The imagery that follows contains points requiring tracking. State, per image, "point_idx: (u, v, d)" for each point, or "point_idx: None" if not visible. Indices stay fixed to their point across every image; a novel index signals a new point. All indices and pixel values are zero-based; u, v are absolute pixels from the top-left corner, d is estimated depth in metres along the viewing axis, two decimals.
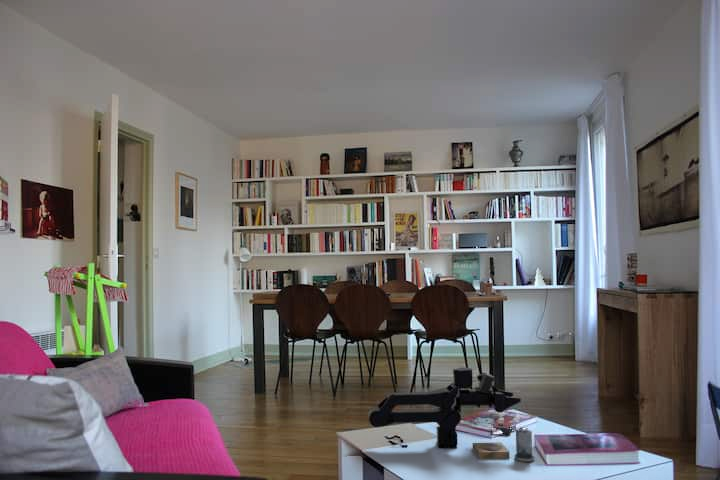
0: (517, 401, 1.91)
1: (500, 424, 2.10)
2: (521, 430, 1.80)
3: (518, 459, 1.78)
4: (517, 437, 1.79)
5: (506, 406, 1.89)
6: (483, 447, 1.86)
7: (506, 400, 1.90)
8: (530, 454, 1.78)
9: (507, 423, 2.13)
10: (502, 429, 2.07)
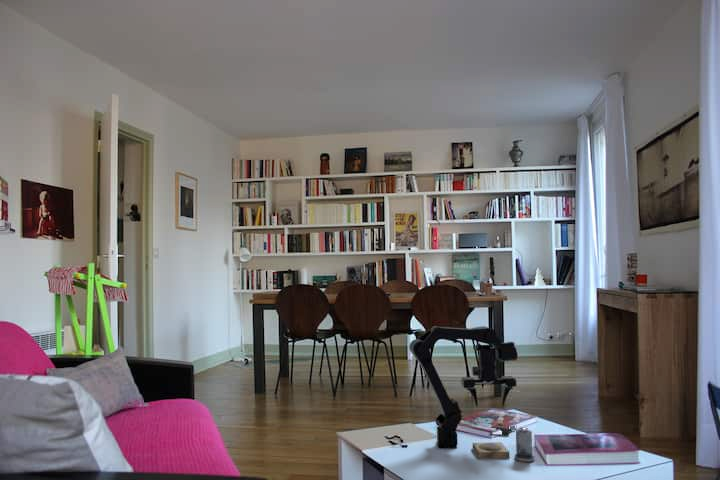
0: None
1: (499, 424, 2.10)
2: (521, 430, 1.80)
3: (518, 459, 1.78)
4: (517, 437, 1.79)
5: None
6: (483, 447, 1.86)
7: None
8: (530, 454, 1.78)
9: (506, 423, 2.13)
10: (501, 429, 2.07)
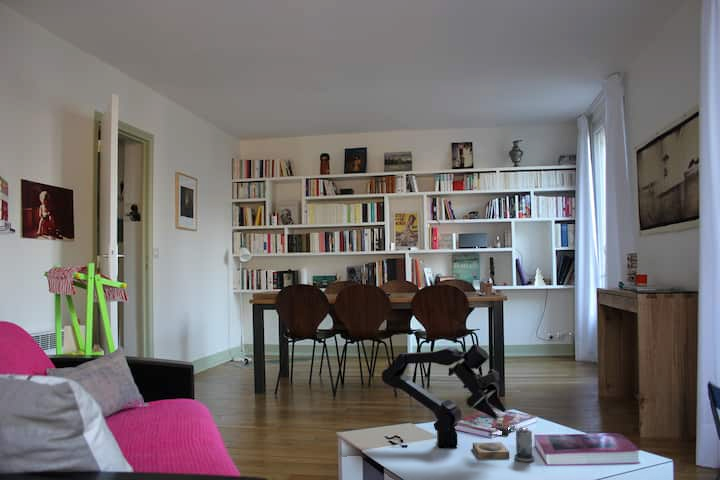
0: (492, 415, 1.81)
1: (499, 424, 2.10)
2: (521, 430, 1.80)
3: (518, 459, 1.78)
4: (517, 437, 1.79)
5: (479, 408, 1.82)
6: (483, 447, 1.86)
7: (484, 405, 1.82)
8: (530, 454, 1.78)
9: (506, 423, 2.12)
10: (500, 429, 2.07)
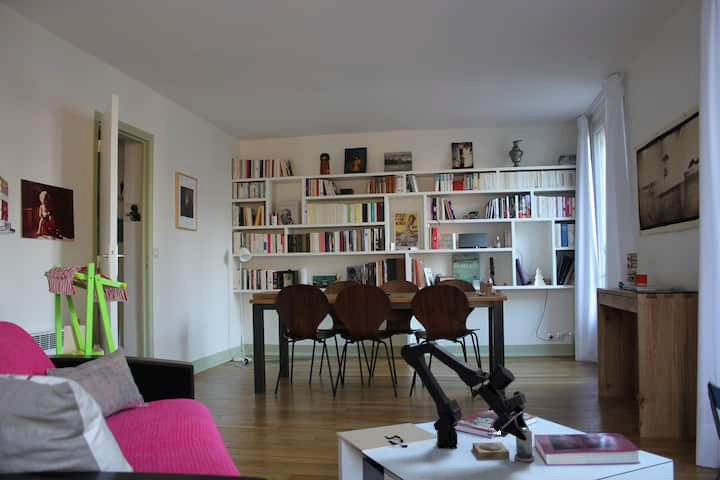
0: (521, 437, 1.78)
1: None
2: (521, 430, 1.80)
3: (518, 459, 1.78)
4: None
5: (508, 430, 1.79)
6: (483, 447, 1.86)
7: (513, 427, 1.78)
8: (530, 454, 1.78)
9: None
10: None
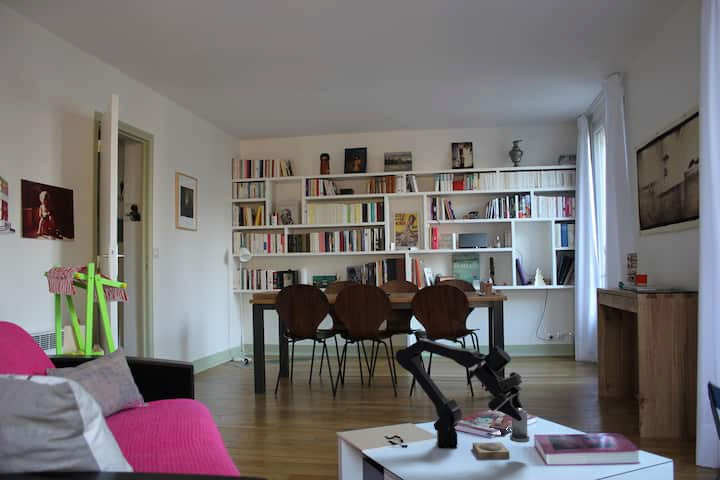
0: (517, 418, 1.79)
1: (497, 424, 2.10)
2: None
3: (513, 439, 1.79)
4: None
5: (503, 410, 1.80)
6: (483, 447, 1.86)
7: (508, 407, 1.80)
8: (525, 434, 1.79)
9: (505, 423, 2.12)
10: None
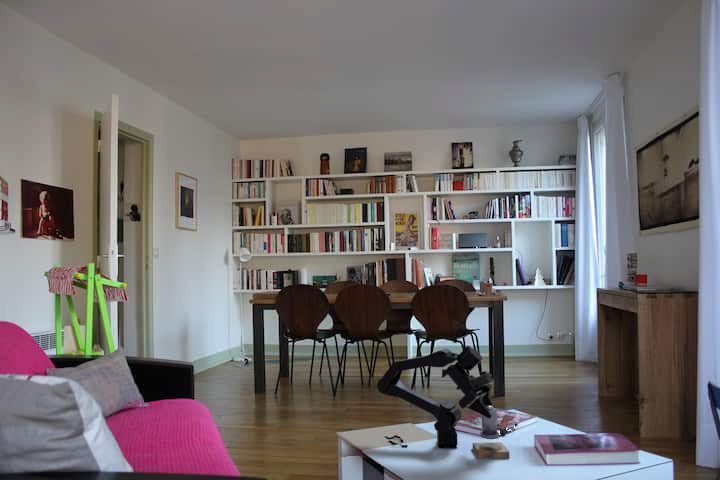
0: (486, 415, 1.84)
1: None
2: (487, 408, 1.86)
3: (483, 436, 1.85)
4: (483, 415, 1.86)
5: (474, 408, 1.85)
6: (483, 447, 1.86)
7: (479, 405, 1.85)
8: (495, 431, 1.85)
9: (505, 423, 2.12)
10: None
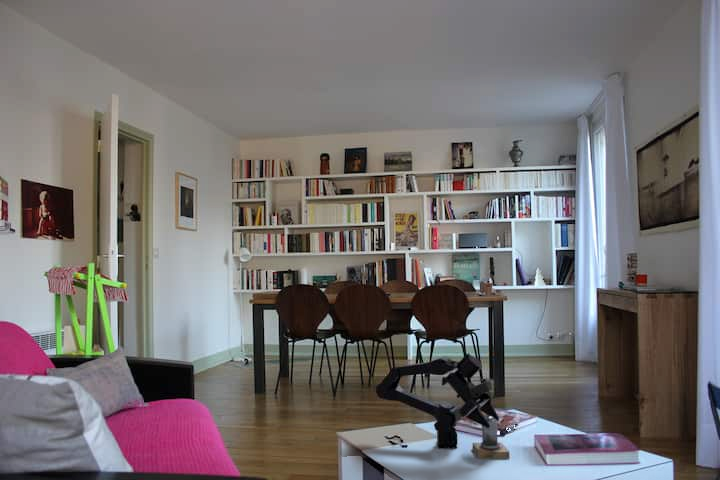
0: (485, 424, 1.82)
1: None
2: (487, 418, 1.86)
3: (483, 446, 1.85)
4: None
5: (472, 418, 1.84)
6: None
7: (477, 414, 1.83)
8: (495, 441, 1.85)
9: (505, 423, 2.12)
10: None
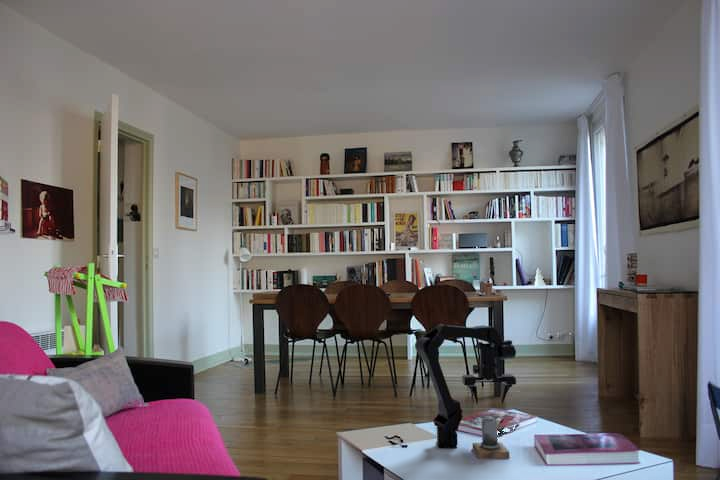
0: None
1: None
2: (487, 418, 1.86)
3: (483, 446, 1.85)
4: (483, 425, 1.86)
5: None
6: None
7: None
8: (495, 441, 1.85)
9: (504, 424, 2.12)
10: None
